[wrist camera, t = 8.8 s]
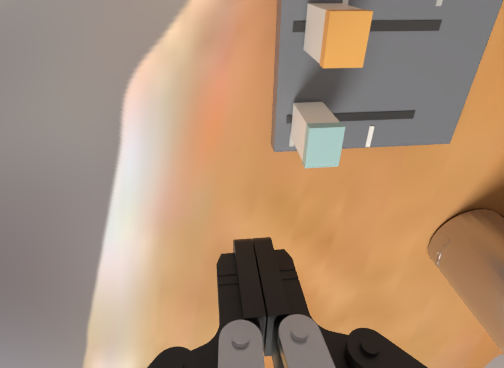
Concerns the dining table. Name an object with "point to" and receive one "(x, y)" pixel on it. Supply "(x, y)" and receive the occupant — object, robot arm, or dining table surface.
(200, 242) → the dining table surface
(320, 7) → the fader
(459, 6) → the console
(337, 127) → the block
